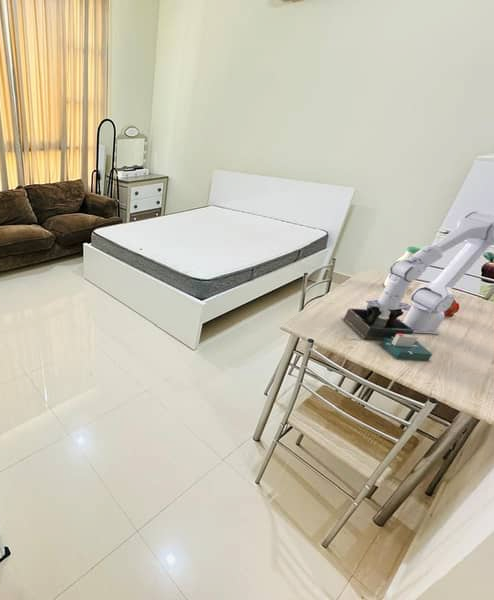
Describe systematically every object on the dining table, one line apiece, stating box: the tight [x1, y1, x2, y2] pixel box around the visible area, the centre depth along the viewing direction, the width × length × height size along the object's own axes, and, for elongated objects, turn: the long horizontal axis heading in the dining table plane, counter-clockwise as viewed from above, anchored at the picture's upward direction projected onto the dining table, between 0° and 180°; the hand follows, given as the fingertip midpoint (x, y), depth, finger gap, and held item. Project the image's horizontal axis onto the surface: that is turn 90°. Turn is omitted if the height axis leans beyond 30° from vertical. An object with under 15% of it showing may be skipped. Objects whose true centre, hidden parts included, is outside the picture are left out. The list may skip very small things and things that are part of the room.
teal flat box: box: [380, 336, 433, 362], centre depth 110 cm, size 12×10×3 cm
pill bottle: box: [370, 308, 391, 328], centre depth 120 cm, size 5×5×8 cm
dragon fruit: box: [444, 298, 460, 318], centre depth 131 cm, size 8×8×12 cm
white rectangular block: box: [392, 333, 418, 347], centre depth 109 cm, size 6×2×4 cm, turn 84°
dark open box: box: [343, 307, 414, 342], centre depth 121 cm, size 15×14×5 cm
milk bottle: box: [383, 246, 422, 287], centre depth 149 cm, size 8×8×20 cm
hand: (376, 324), depth 121 cm, fingers closed on pill bottle, 5 cm apart
